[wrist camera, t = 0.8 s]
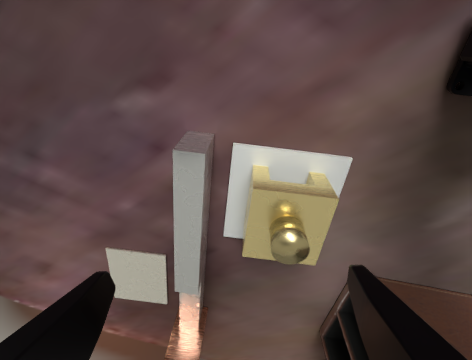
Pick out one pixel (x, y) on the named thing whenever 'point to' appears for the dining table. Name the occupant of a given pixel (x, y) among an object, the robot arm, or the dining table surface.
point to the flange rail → (176, 250)
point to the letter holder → (420, 301)
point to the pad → (275, 175)
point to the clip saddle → (287, 218)
